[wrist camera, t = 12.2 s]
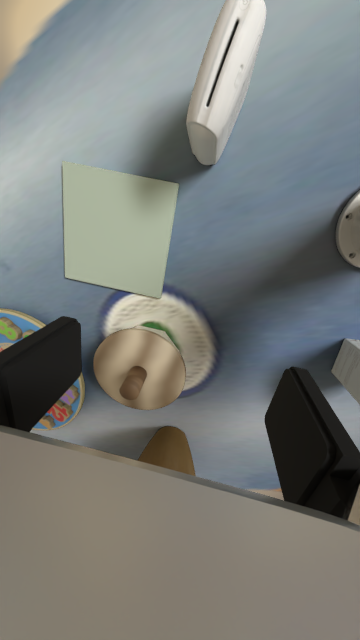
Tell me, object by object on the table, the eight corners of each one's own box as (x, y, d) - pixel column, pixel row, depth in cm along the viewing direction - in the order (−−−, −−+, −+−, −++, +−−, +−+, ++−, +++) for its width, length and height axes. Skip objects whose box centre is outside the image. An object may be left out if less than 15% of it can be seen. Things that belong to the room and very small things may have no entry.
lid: (194, 340, 37) (191, 360, 31) (176, 414, 44) (171, 441, 38) (97, 318, 38) (78, 333, 32) (94, 394, 44) (78, 417, 39)
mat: (179, 184, 33) (178, 183, 32) (161, 297, 40) (160, 298, 39) (64, 162, 34) (62, 160, 33) (67, 276, 41) (65, 277, 40)
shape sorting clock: (-10, 275, 43) (-42, 282, 38) (116, 367, 48) (104, 385, 42) (-48, 369, 55) (-77, 384, 49) (57, 435, 59) (41, 457, 54)
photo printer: (222, 65, 27) (230, -51, 16) (253, 81, 28) (283, -23, 16) (188, 158, 31) (176, 117, 20) (215, 171, 32) (218, 138, 20)
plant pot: (193, 465, 56) (186, 548, 41) (137, 447, 56) (111, 524, 42) (211, 424, 50) (211, 505, 35) (148, 405, 50) (123, 477, 36)
